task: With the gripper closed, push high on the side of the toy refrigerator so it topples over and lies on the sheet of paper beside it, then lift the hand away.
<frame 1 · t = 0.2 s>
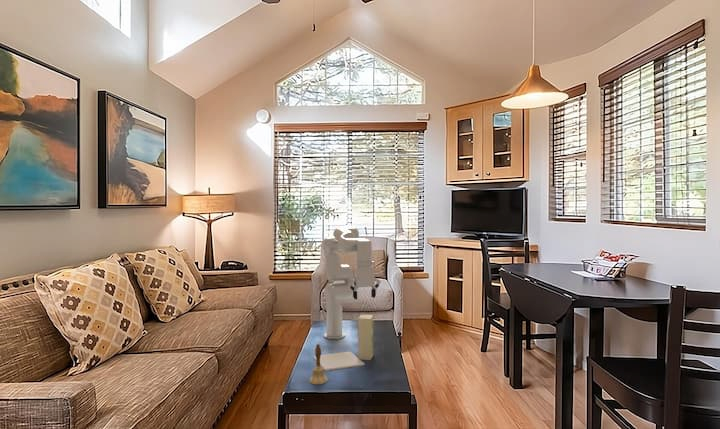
hand: (364, 298, 216), 31 cm above the table, tool pointing down, fingers open, 9 cm apart
sheet of paper: (338, 361, 214), on the table
toy refrigerator: (366, 357, 220), on the table
hand bell: (318, 381, 189), on the table
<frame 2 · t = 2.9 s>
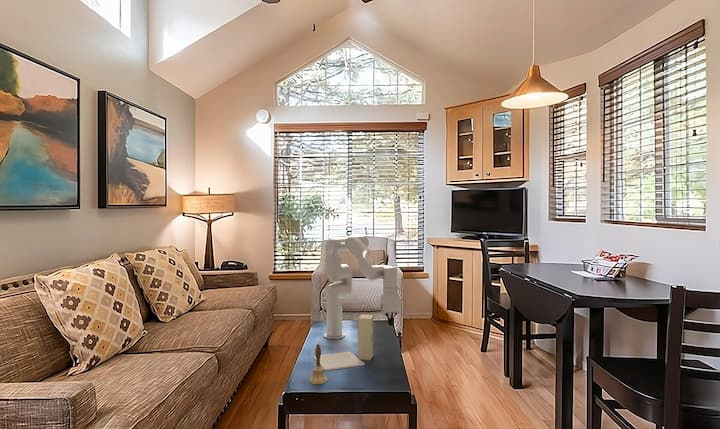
hand: (390, 325, 224), 15 cm above the table, tool pointing down, fingers closed
nothing on the table moved.
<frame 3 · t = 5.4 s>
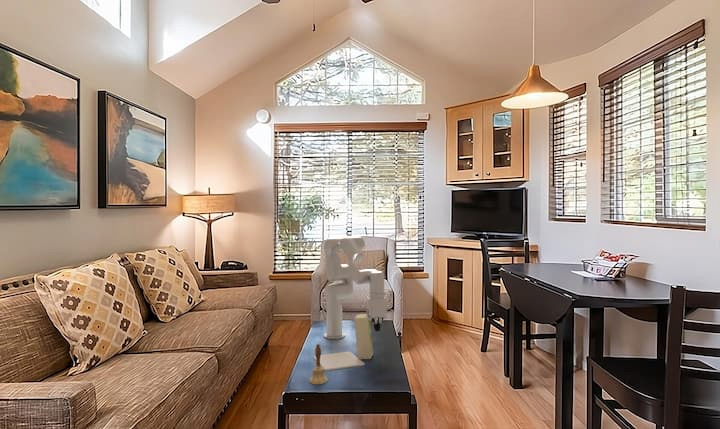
hand: (377, 330, 222), 13 cm above the table, tool pointing down, fingers closed
toy refrigerator: (366, 357, 220), on the table, touching gripper
everything else where it was.
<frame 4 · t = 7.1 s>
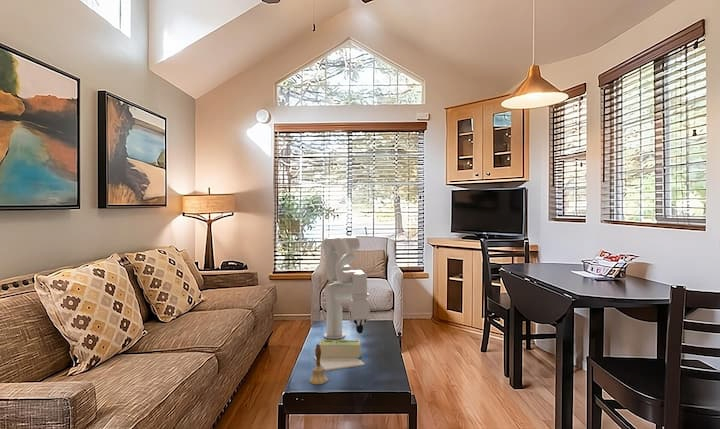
hand: (359, 332, 218), 13 cm above the table, tool pointing down, fingers closed
toy refrigerator: (360, 348, 220), point 4 cm above the table, touching sheet of paper
everything else where it was.
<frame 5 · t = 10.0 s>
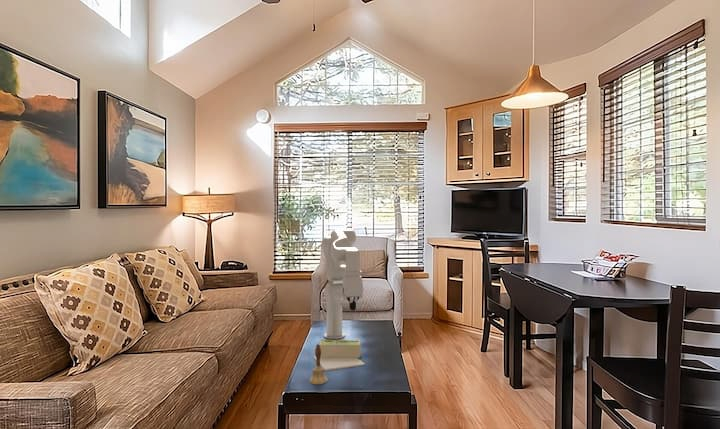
hand: (352, 309, 217), 25 cm above the table, tool pointing down, fingers closed
nothing on the table moved.
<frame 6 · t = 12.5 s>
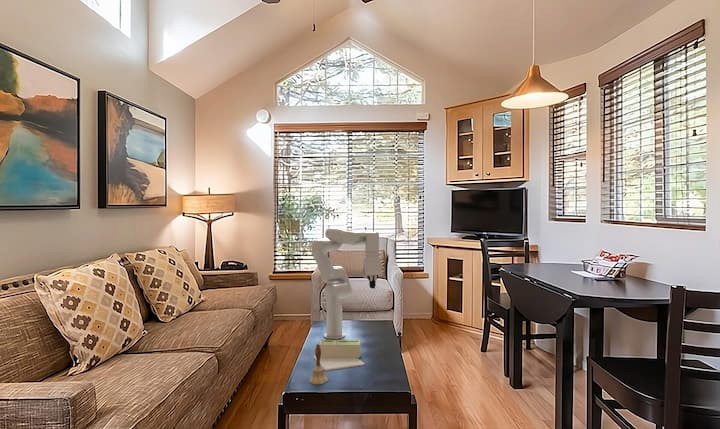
hand: (372, 287, 234), 33 cm above the table, tool pointing down, fingers closed
nothing on the table moved.
at the end: toy refrigerator tilted 91°; toy refrigerator touching sheet of paper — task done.
